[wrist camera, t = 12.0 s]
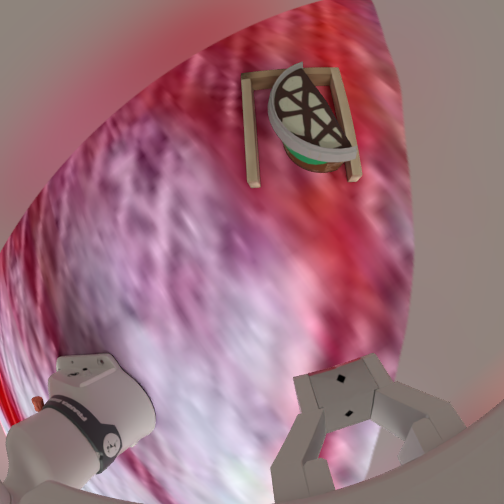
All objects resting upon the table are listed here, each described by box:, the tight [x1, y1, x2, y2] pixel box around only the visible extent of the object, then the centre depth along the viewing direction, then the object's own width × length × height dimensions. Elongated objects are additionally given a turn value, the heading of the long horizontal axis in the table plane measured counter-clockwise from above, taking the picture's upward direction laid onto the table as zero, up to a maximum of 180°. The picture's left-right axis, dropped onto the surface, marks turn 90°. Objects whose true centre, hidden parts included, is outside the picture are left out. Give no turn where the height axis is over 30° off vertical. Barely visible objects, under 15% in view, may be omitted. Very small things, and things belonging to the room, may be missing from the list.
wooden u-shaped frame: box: [241, 68, 362, 188], centre depth 31 cm, size 13×16×3 cm
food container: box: [268, 62, 357, 173], centre depth 28 cm, size 12×6×10 cm, turn 22°
